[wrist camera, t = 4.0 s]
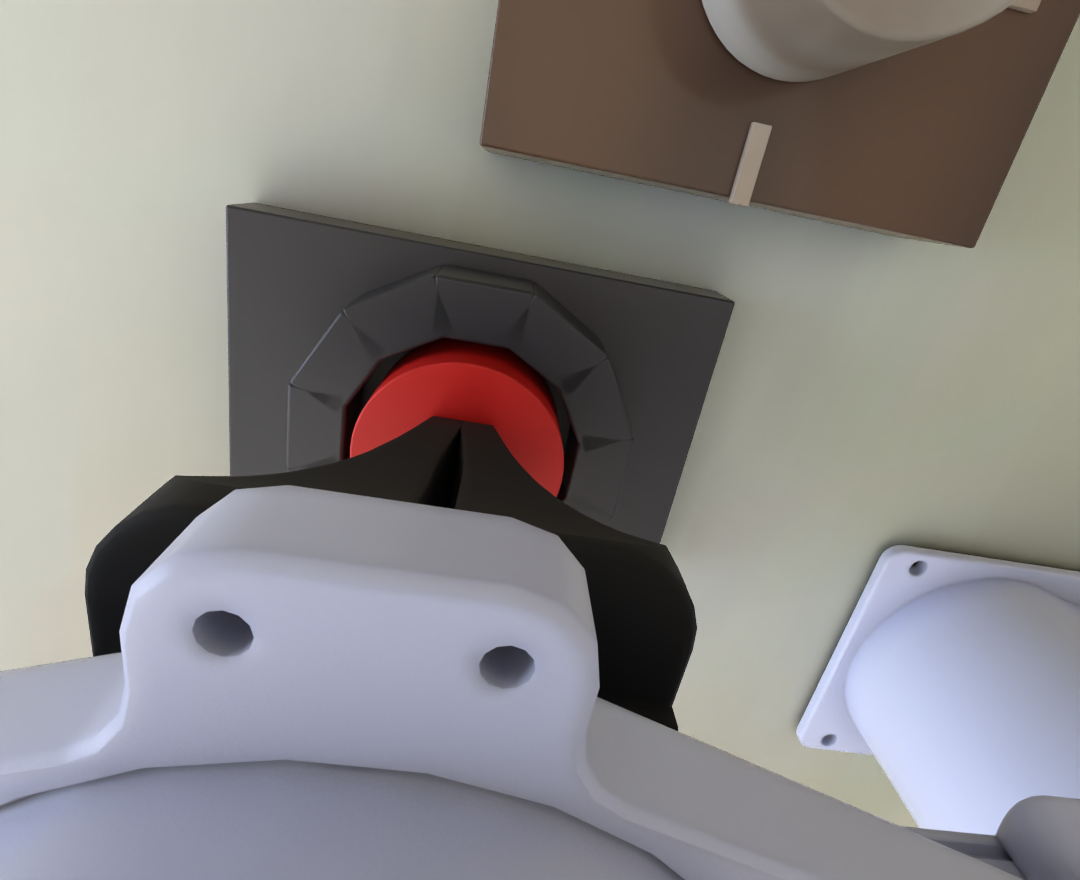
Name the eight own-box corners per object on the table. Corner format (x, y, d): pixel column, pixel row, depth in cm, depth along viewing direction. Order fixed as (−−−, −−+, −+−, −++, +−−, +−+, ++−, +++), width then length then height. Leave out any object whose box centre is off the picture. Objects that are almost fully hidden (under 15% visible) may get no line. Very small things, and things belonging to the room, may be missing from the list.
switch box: (717, 291, 15) (763, 316, 12) (636, 561, 18) (658, 631, 15) (252, 202, 14) (185, 207, 11) (252, 507, 17) (199, 572, 14)
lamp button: (575, 355, 14) (584, 383, 12) (539, 520, 15) (542, 568, 13) (380, 320, 13) (356, 344, 11) (365, 495, 15) (342, 540, 13)
